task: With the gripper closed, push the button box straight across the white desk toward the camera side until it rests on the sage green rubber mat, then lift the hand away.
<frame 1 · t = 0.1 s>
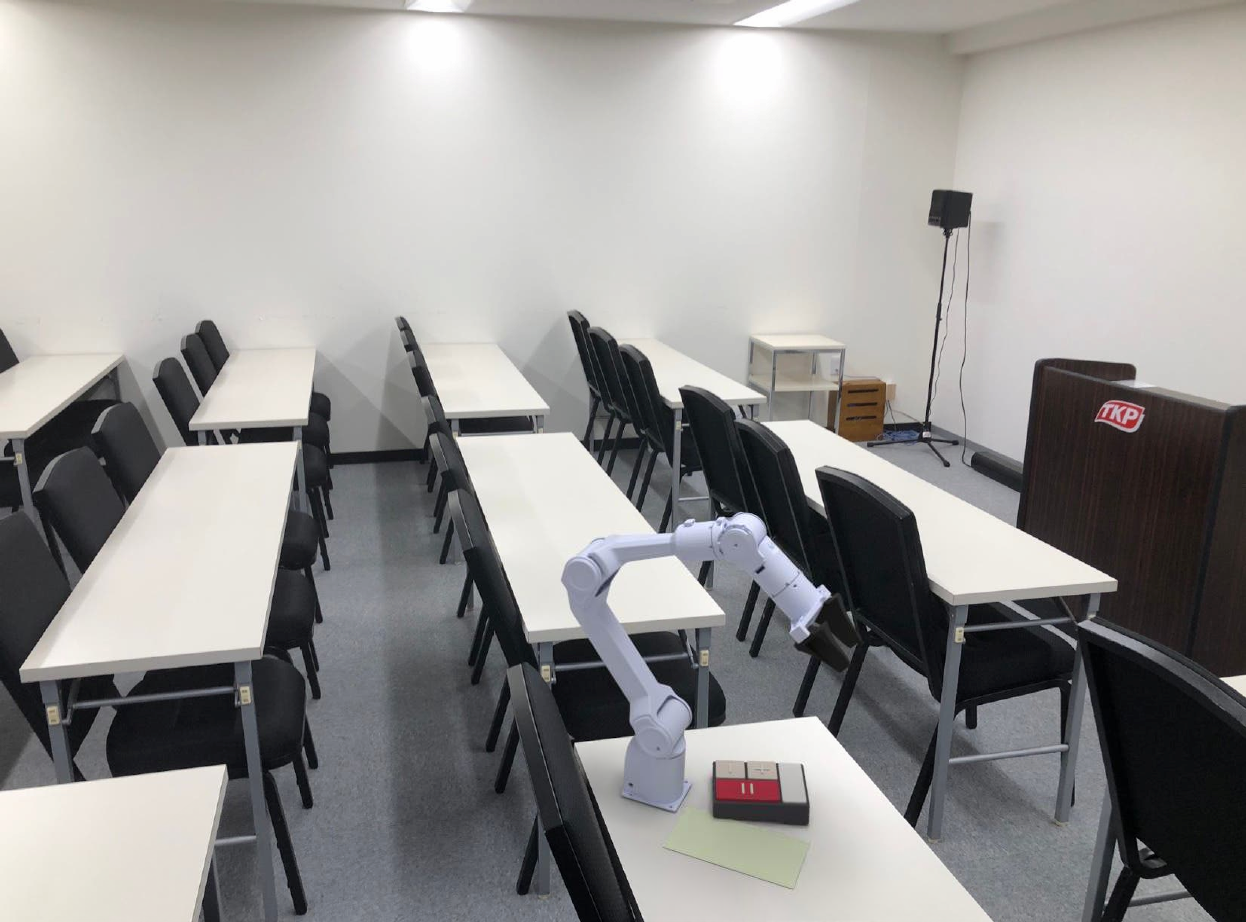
hand: (850, 655, 134), 32 cm above the table, tool tilted 50°, fingers open, 7 cm apart
mat: (736, 845, 143), on the table
button box: (758, 800, 153), on the table, touching mat
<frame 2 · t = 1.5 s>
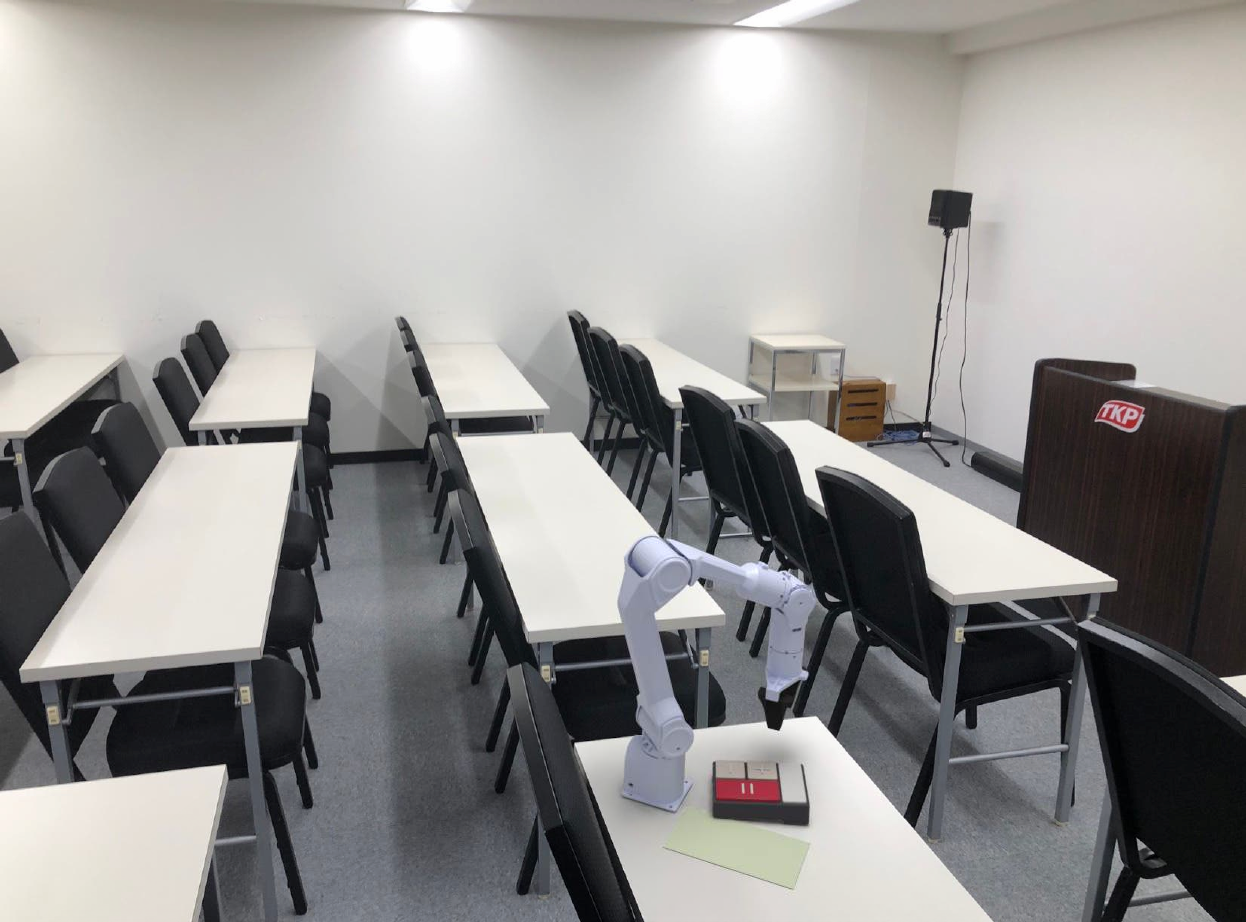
hand: (779, 717, 160), 9 cm above the table, tool pointing down, fingers open, 7 cm apart
nothing on the table moved.
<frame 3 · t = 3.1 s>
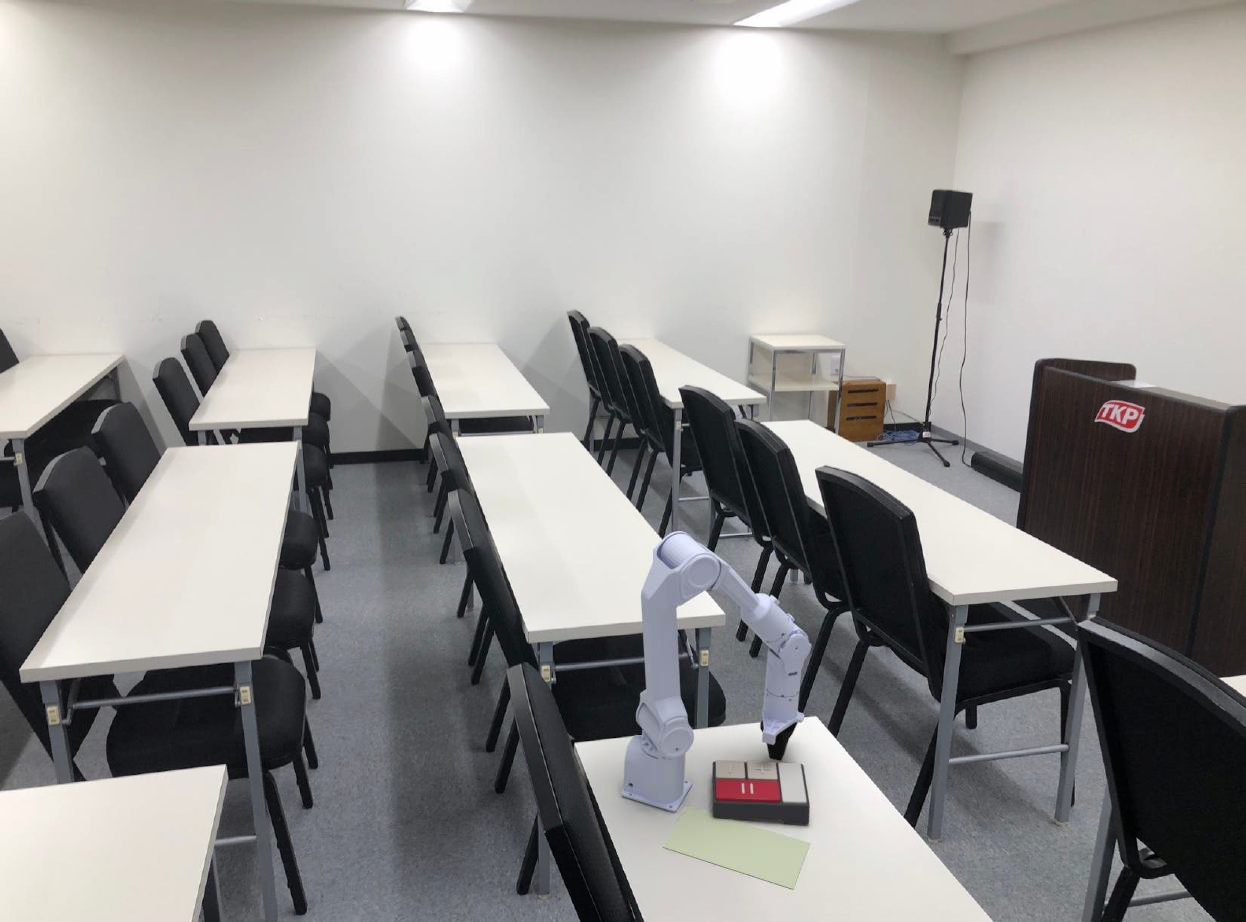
hand: (776, 757, 162), 1 cm above the table, tool pointing down, fingers closed
nothing on the table moved.
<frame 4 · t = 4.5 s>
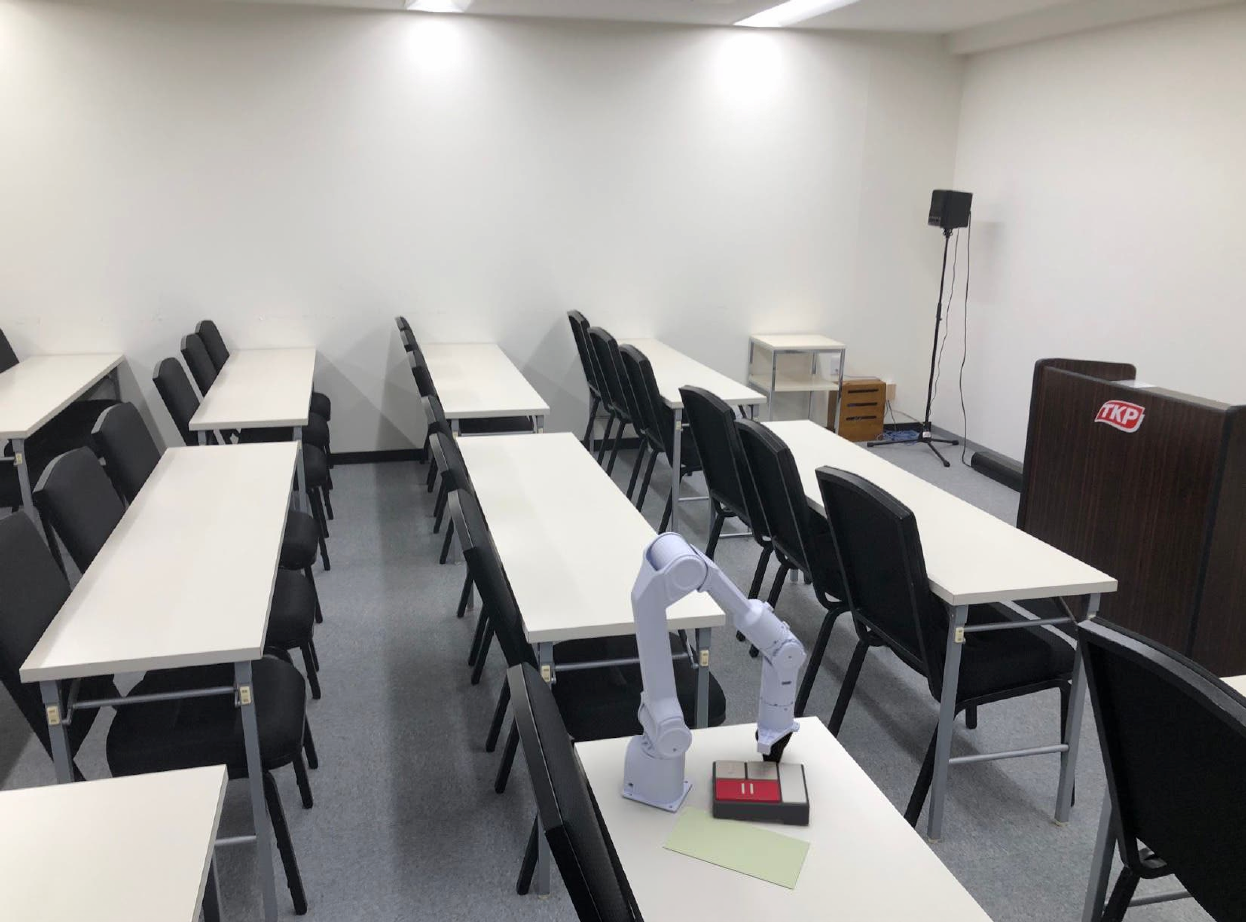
hand: (771, 767, 159), 1 cm above the table, tool pointing down, fingers closed
button box: (758, 800, 153), on the table, touching gripper
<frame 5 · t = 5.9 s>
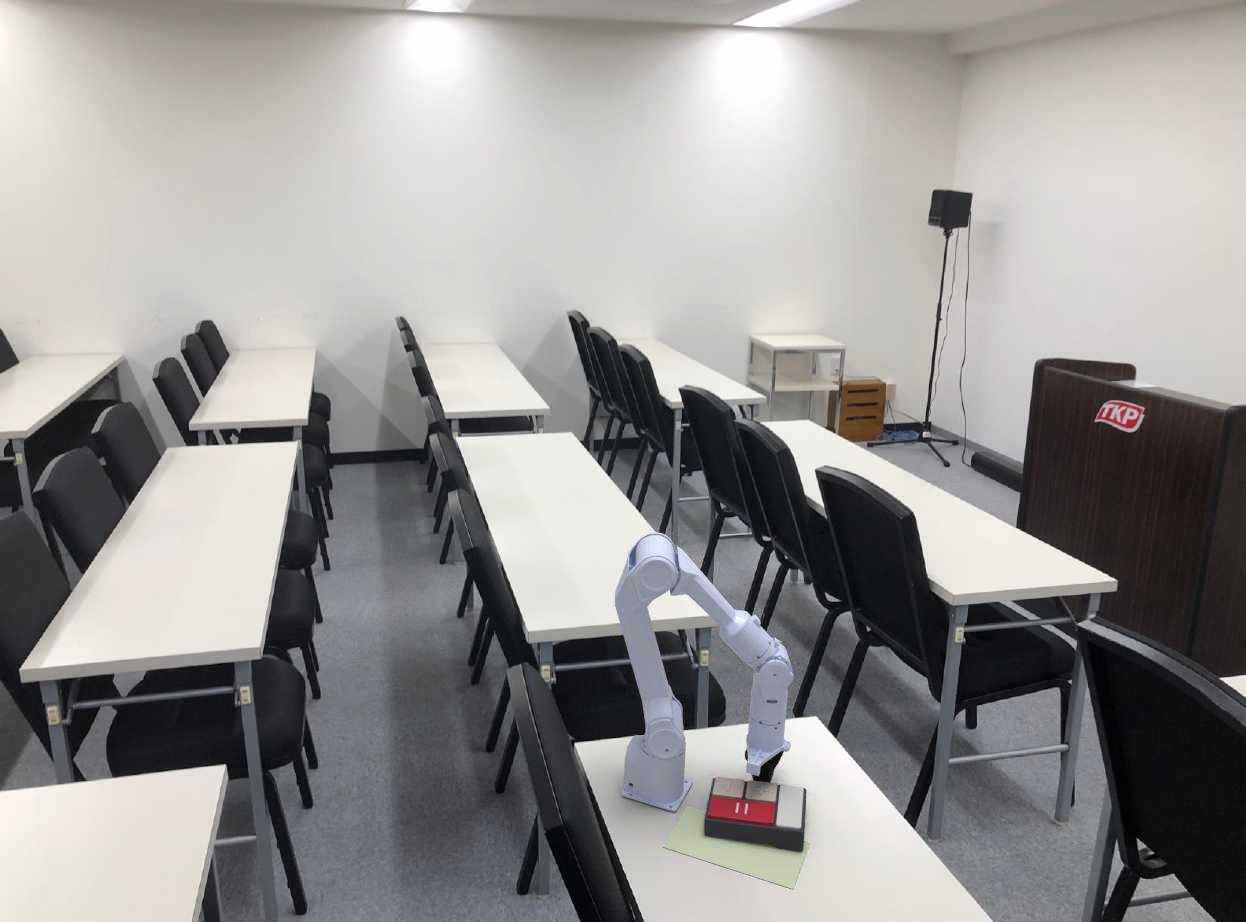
hand: (761, 787, 154), 1 cm above the table, tool pointing down, fingers closed
button box: (755, 822, 148), on the table, touching gripper, mat
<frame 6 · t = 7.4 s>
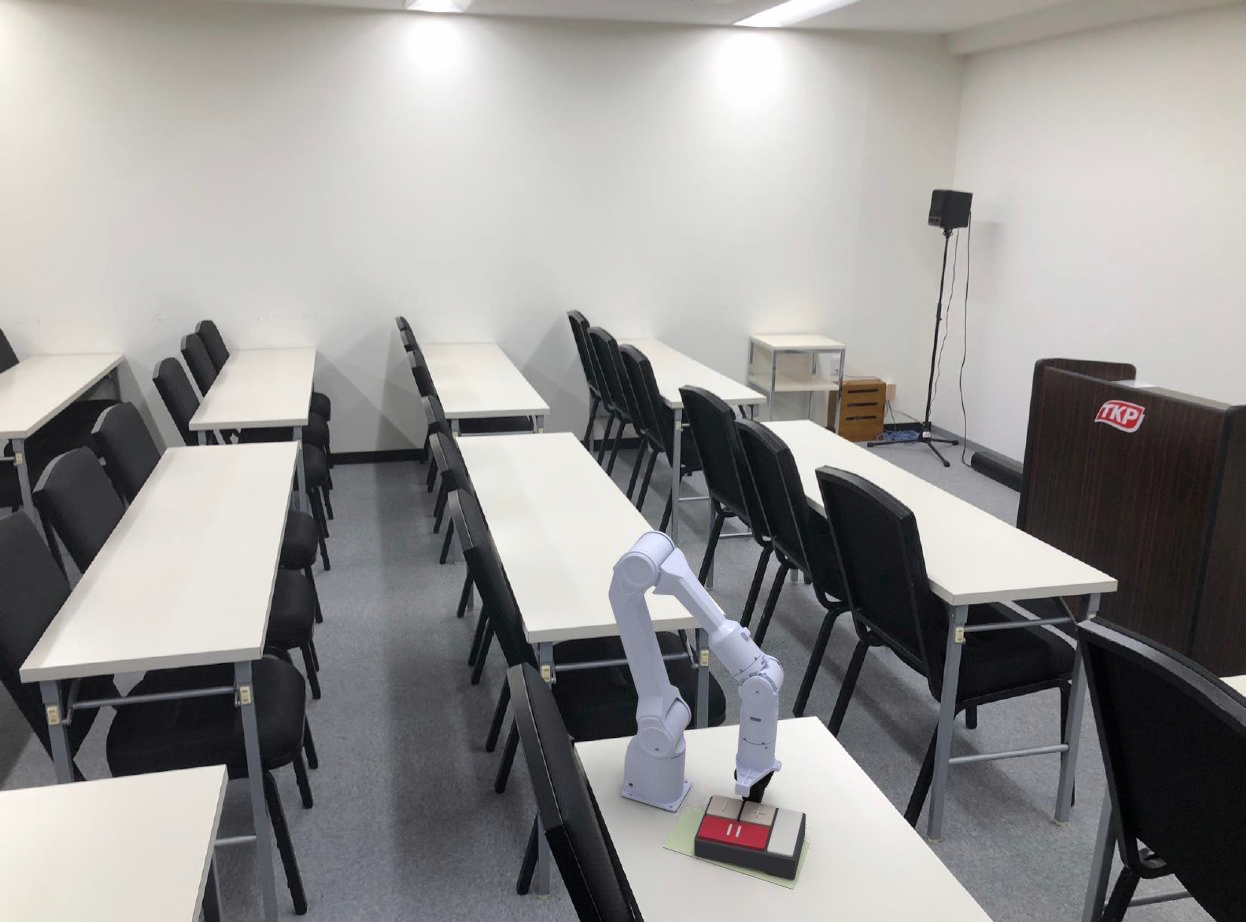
hand: (751, 808, 149), 1 cm above the table, tool pointing down, fingers closed
button box: (750, 845, 143), resting on mat
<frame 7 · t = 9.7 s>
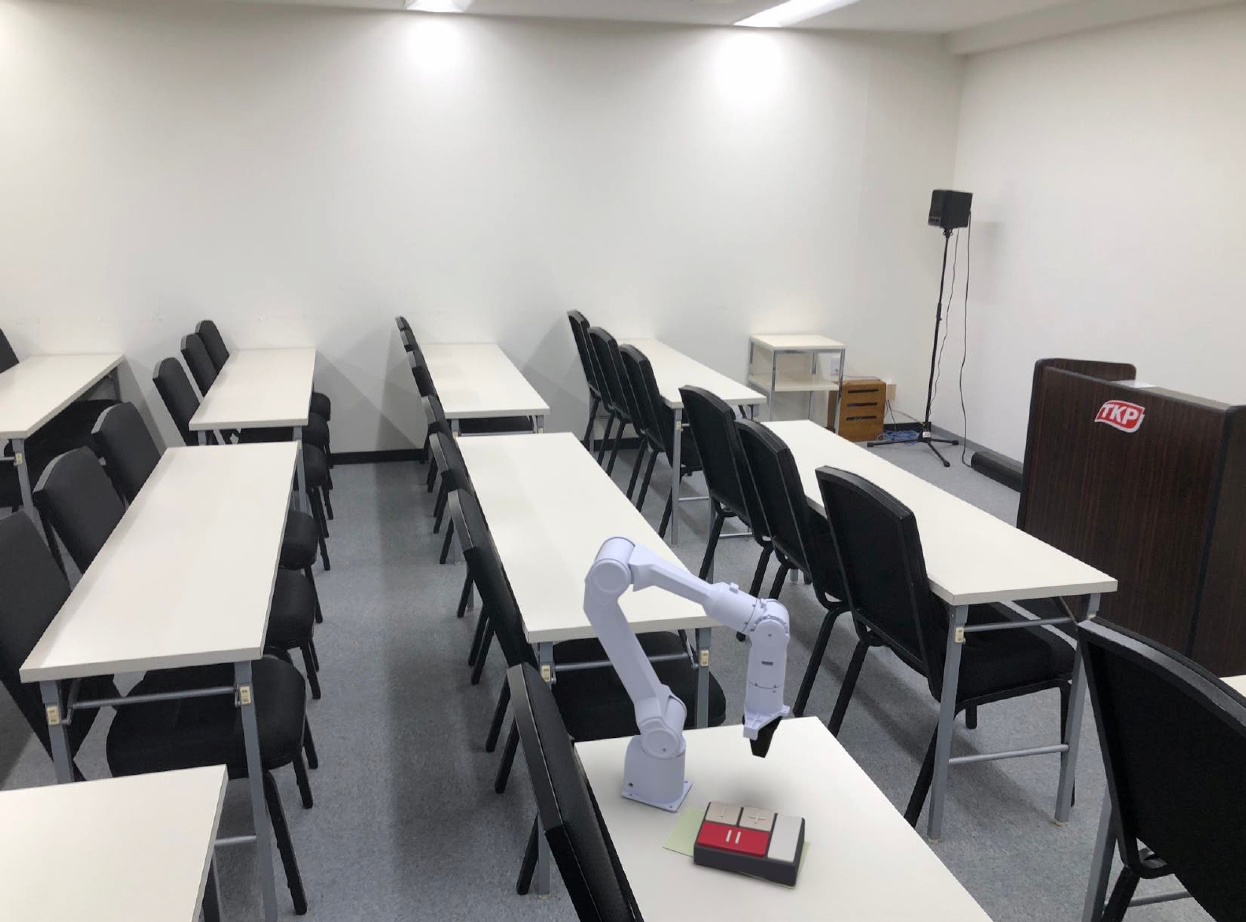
hand: (759, 754, 149), 9 cm above the table, tool pointing down, fingers closed
button box: (749, 851, 142), resting on mat
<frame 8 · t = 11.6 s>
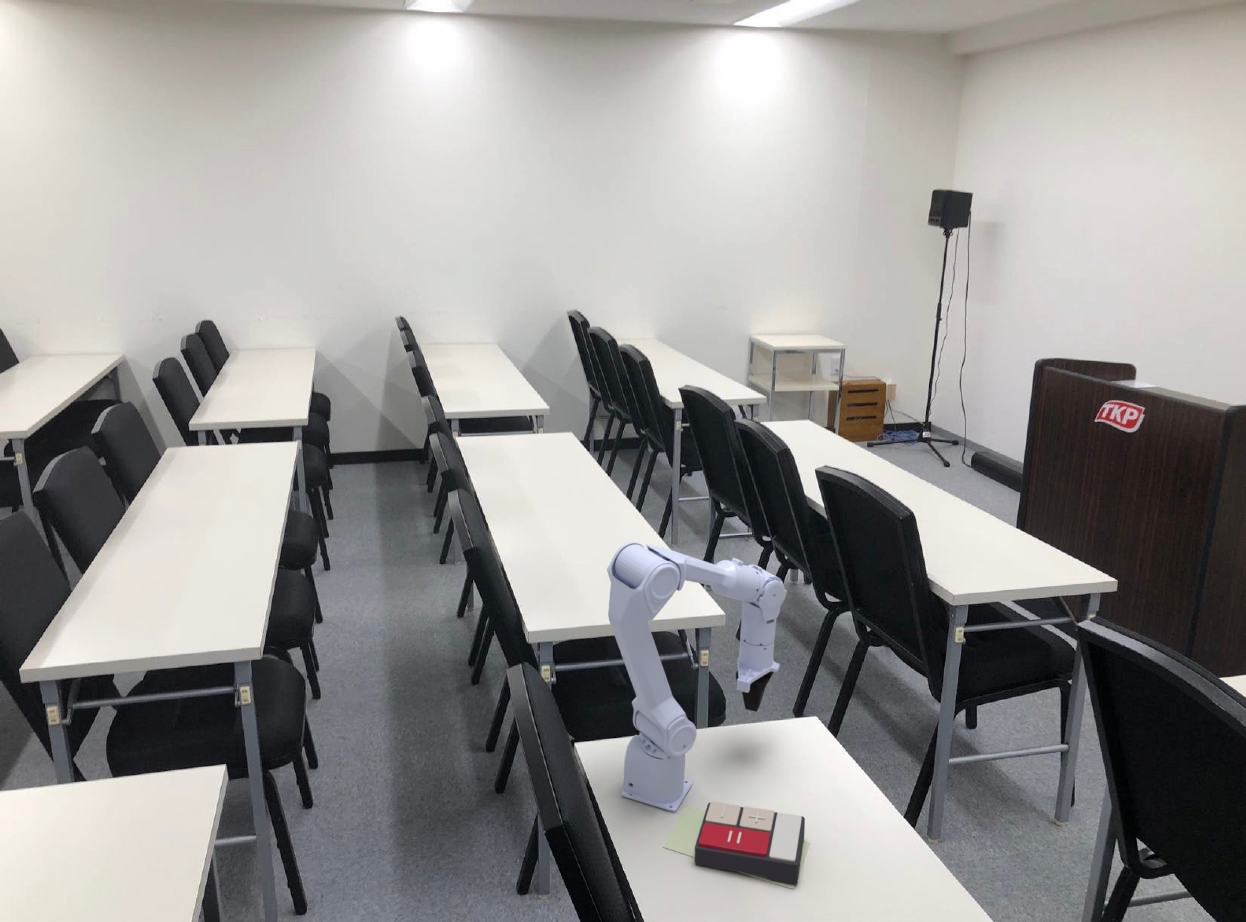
hand: (752, 708, 162), 9 cm above the table, tool pointing down, fingers closed
nothing on the table moved.
at the end: button box inside the target area (2.2 cm from its centre), resting on mat; button box moved 12.2 cm from its start; button box tilted 0° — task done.
